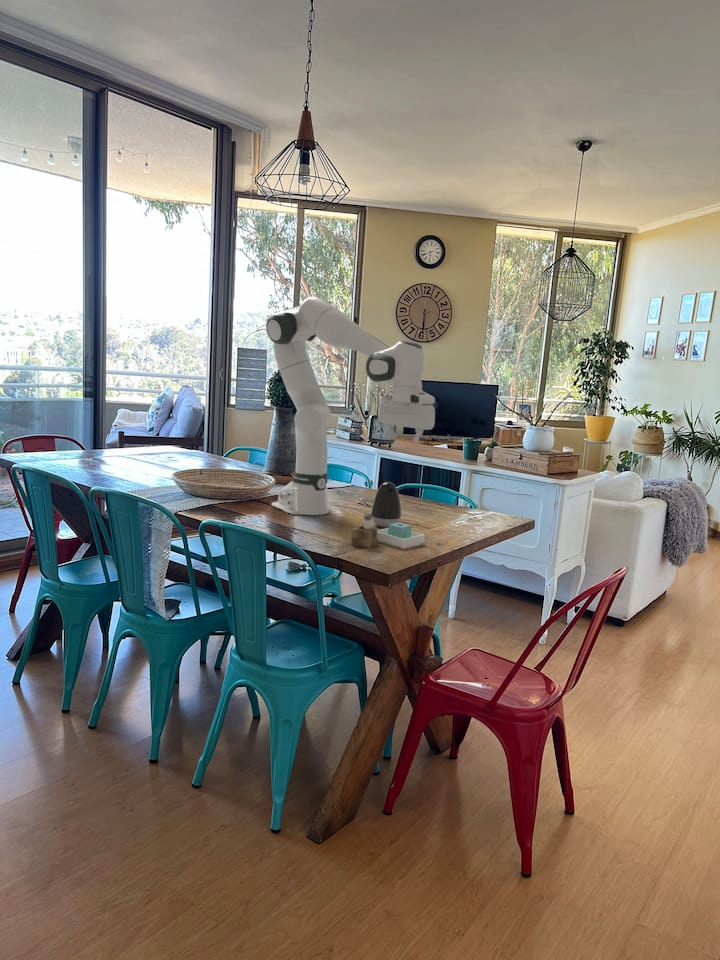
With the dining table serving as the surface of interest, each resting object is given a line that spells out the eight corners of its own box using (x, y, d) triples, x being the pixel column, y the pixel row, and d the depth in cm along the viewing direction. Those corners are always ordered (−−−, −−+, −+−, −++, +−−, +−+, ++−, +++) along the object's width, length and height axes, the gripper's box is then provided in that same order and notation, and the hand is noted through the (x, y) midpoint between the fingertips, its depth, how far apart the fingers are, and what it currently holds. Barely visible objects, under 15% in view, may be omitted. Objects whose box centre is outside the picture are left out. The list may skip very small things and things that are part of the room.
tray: (372, 540, 216) (373, 530, 216) (394, 535, 224) (395, 526, 223) (402, 549, 208) (403, 539, 207) (424, 544, 215) (424, 534, 215)
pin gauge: (360, 543, 211) (362, 514, 210) (366, 542, 213) (368, 514, 212) (366, 545, 210) (368, 516, 208) (371, 544, 211) (373, 515, 210)
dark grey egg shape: (375, 530, 229) (378, 484, 226) (366, 522, 239) (369, 478, 236) (404, 529, 232) (408, 484, 229) (394, 522, 242) (397, 479, 239)
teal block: (387, 540, 215) (388, 524, 214) (398, 537, 219) (399, 521, 218) (399, 543, 212) (401, 527, 211) (410, 541, 215) (411, 525, 214)
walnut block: (351, 544, 209) (352, 528, 209) (358, 540, 215) (359, 524, 214) (369, 548, 207) (370, 531, 206) (376, 543, 213) (377, 527, 212)
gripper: (374, 393, 216) (372, 437, 218) (426, 398, 202) (422, 446, 204) (388, 393, 220) (385, 436, 223) (439, 398, 206) (435, 445, 209)
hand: (403, 441), depth 213 cm, fingers open, 8 cm apart
